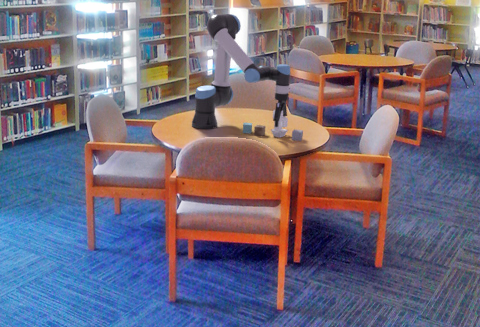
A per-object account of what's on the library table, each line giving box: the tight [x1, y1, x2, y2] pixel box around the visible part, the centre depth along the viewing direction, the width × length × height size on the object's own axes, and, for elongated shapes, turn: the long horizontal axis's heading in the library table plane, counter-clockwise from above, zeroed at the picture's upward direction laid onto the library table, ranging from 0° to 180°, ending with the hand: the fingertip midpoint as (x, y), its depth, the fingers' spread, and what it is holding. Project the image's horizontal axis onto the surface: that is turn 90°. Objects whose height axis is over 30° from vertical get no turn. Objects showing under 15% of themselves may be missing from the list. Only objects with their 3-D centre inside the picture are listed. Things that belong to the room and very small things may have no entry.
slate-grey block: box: [291, 128, 304, 142], centre depth 328 cm, size 5×5×5 cm
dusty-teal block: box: [242, 122, 253, 134], centre depth 339 cm, size 5×5×5 cm
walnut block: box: [253, 124, 266, 137], centre depth 335 cm, size 5×5×5 cm
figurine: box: [270, 109, 289, 138], centre depth 332 cm, size 7×9×15 cm
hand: (279, 129), depth 333 cm, fingers open, 13 cm apart
